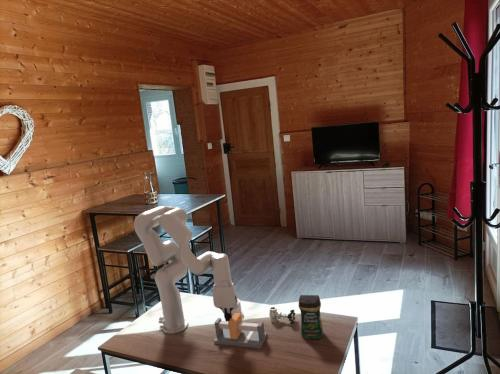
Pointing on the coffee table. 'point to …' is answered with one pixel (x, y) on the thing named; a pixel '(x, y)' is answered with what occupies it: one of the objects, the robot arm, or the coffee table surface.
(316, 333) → the coffee jar
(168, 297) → the robot arm
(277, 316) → the valve
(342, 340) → the coffee table surface
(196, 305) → the coffee table surface
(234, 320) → the orange rectangular prism
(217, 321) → the slider rail fixture
